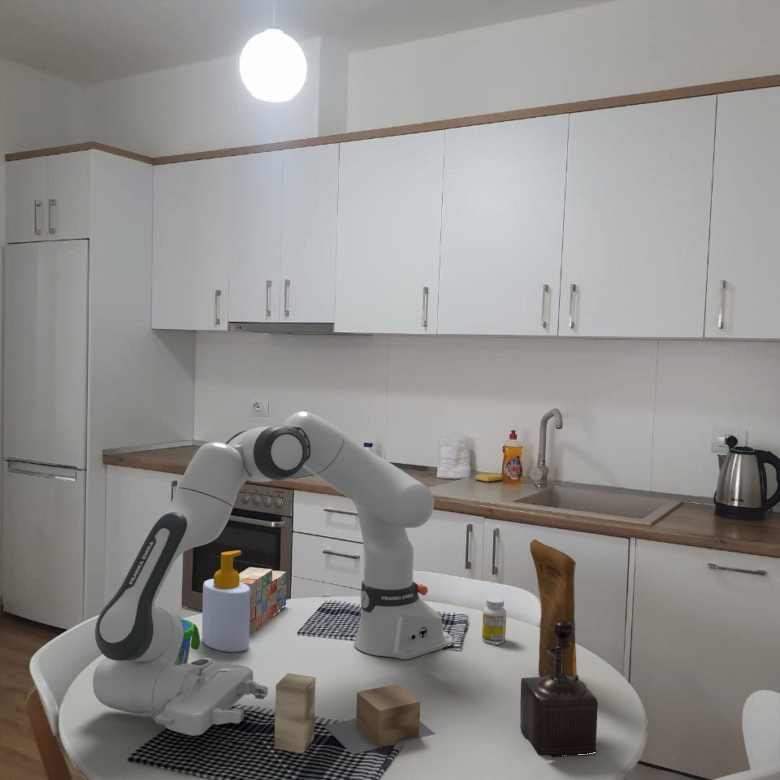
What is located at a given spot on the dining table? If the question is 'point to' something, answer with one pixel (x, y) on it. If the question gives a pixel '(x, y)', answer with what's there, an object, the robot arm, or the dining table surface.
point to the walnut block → (387, 714)
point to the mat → (363, 736)
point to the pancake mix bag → (554, 604)
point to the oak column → (294, 712)
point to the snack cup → (188, 641)
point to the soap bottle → (226, 608)
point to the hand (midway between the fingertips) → (254, 704)
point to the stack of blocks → (264, 594)
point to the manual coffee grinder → (558, 707)
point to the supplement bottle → (494, 621)
